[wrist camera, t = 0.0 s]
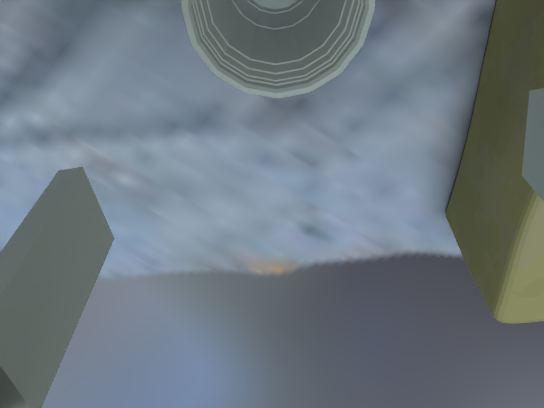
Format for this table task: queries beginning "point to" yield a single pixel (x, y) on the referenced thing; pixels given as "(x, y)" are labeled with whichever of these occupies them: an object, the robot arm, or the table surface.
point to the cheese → (503, 171)
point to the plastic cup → (277, 41)
